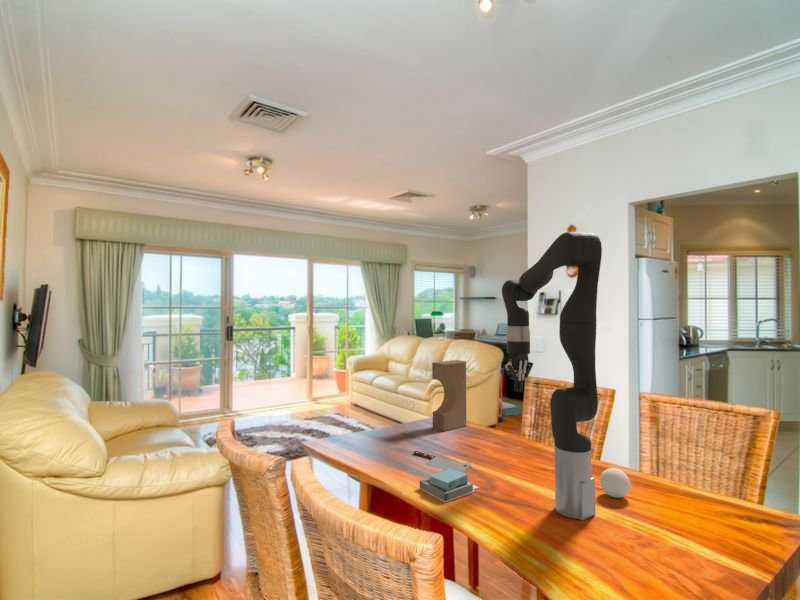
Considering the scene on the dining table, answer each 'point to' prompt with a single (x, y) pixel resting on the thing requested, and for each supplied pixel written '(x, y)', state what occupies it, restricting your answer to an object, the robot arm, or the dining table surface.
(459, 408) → the decorative block
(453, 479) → the pale blue lipped slab
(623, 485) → the ball
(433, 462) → the kitchen cleaver
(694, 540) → the dining table surface
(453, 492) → the dock
